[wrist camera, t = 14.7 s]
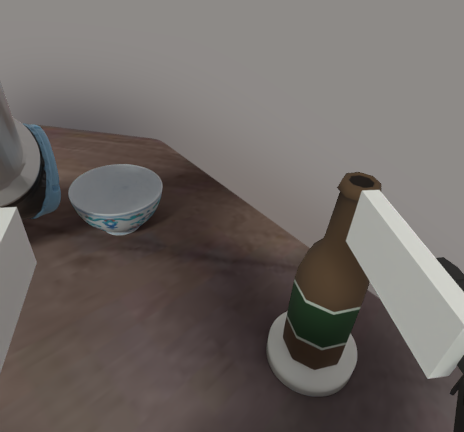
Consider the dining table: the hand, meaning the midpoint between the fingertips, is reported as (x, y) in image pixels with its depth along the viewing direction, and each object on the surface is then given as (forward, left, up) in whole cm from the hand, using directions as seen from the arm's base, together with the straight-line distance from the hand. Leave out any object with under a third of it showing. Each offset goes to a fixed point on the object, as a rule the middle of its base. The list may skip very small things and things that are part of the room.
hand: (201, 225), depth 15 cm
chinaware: (-42, +13, -34) cm, 56 cm away
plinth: (-4, +20, -34) cm, 40 cm away
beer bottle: (-4, +20, -32) cm, 38 cm away
